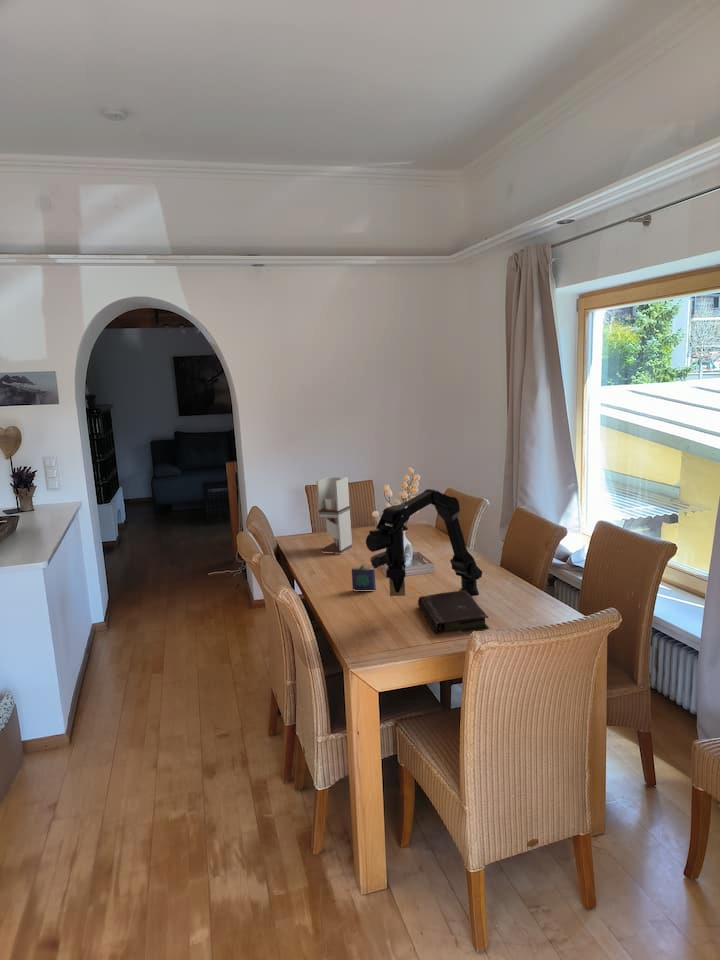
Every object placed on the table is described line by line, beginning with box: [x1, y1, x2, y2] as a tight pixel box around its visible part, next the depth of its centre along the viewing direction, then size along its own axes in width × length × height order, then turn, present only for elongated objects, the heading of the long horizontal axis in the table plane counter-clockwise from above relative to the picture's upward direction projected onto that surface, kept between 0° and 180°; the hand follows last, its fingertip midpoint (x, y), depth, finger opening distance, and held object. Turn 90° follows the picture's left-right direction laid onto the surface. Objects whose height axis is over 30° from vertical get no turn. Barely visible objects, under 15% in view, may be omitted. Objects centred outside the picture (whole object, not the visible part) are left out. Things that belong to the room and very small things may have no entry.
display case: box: [316, 476, 353, 553], centre depth 303 cm, size 11×11×35 cm
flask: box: [351, 563, 377, 590], centre depth 246 cm, size 9×3×11 cm, turn 78°
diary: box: [417, 590, 490, 636], centre depth 215 cm, size 19×25×5 cm
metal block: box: [388, 578, 406, 597], centre depth 215 cm, size 5×5×6 cm
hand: (397, 589), depth 215 cm, fingers closed on metal block, 5 cm apart
